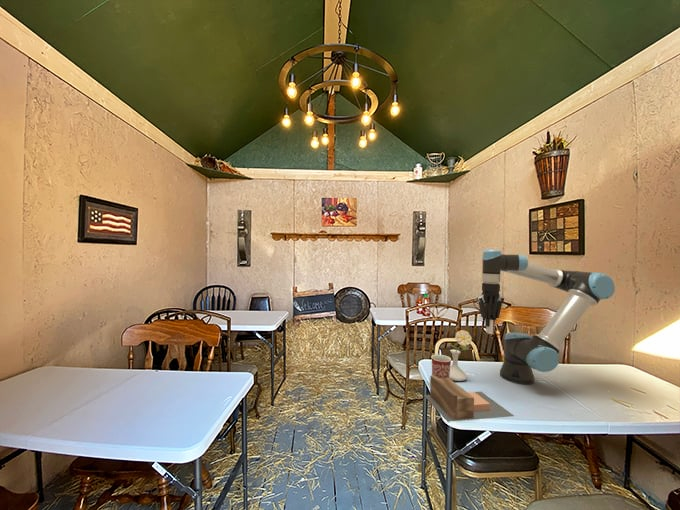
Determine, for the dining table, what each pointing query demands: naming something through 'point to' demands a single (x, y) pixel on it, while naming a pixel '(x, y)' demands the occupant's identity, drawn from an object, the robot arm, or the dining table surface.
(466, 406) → the grooved wooden block
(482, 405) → the tile
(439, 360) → the mug
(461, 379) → the flower in vase
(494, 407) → the mat
